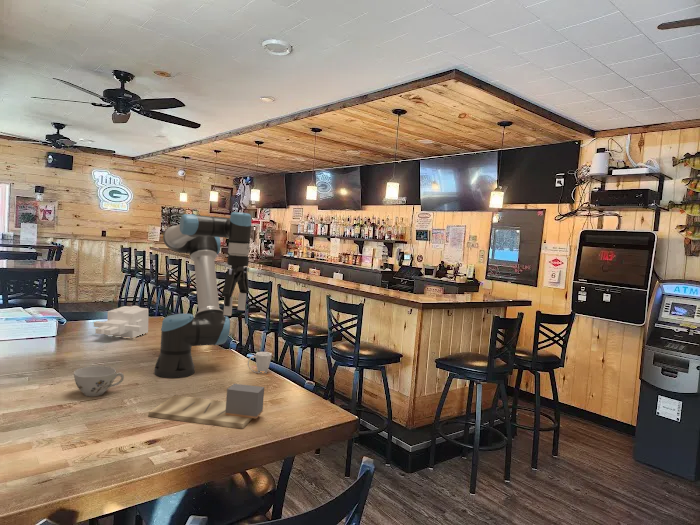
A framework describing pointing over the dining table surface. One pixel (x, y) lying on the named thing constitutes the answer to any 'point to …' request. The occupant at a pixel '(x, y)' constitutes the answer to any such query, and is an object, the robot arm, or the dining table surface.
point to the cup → (262, 361)
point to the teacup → (96, 379)
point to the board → (198, 412)
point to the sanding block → (244, 400)
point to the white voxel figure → (124, 322)
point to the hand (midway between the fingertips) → (234, 312)
